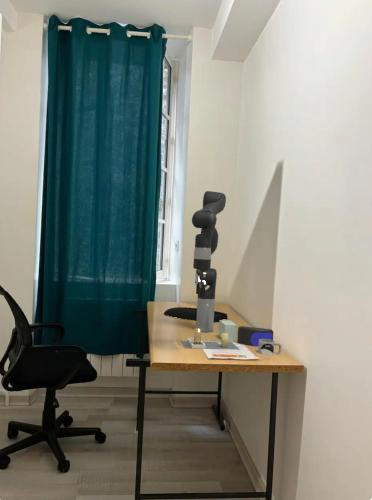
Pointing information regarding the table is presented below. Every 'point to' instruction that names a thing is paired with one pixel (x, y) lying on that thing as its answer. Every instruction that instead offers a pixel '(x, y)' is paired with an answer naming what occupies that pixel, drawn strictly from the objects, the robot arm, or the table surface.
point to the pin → (197, 336)
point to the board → (210, 344)
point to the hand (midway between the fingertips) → (200, 295)
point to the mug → (268, 346)
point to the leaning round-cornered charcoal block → (253, 335)
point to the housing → (228, 329)
